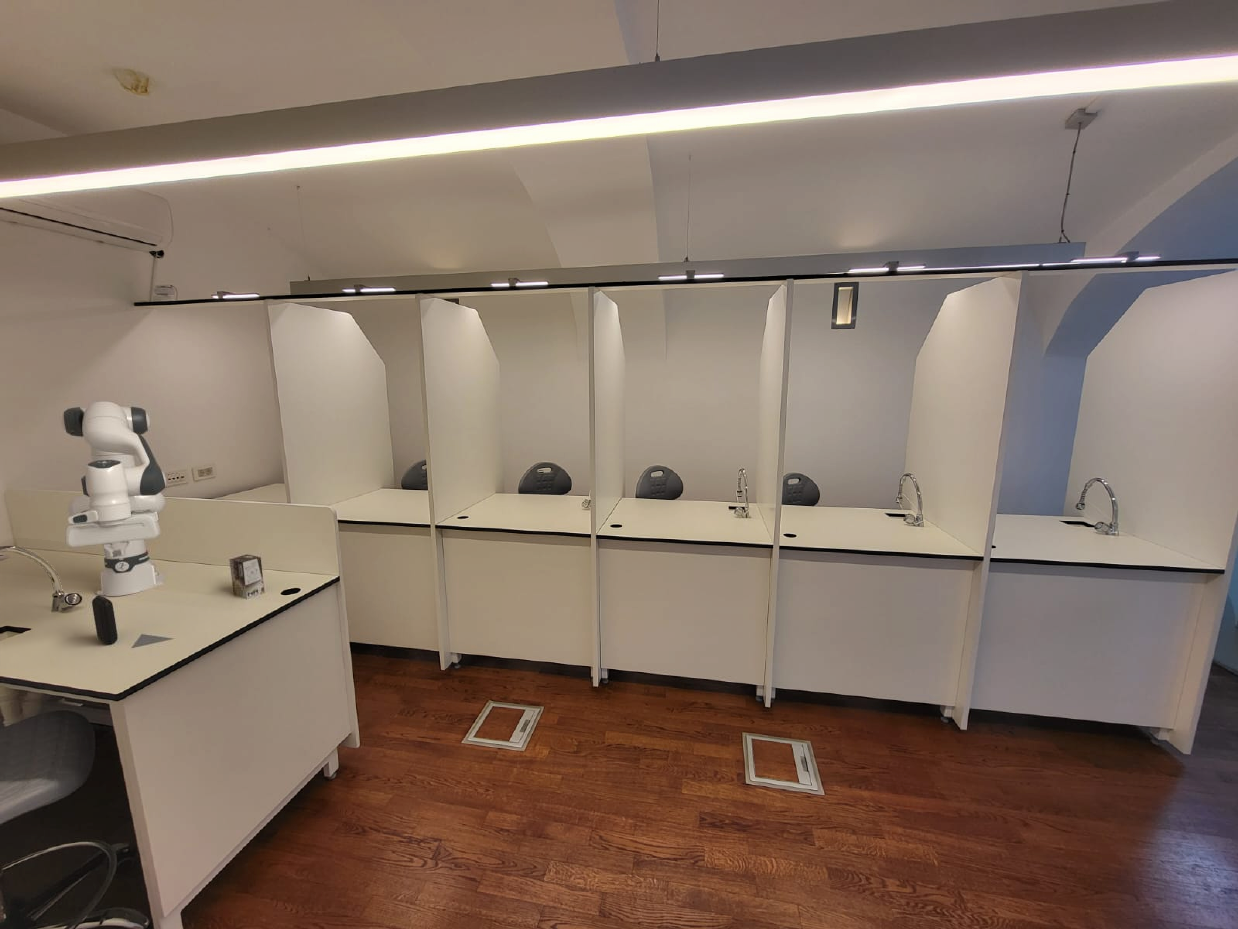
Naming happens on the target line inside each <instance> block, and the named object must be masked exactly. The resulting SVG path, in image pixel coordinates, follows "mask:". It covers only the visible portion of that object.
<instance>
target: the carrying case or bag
mask: <svg viewBox="0 0 1238 929" xmlns="http://www.w3.org/2000/svg"><path fill="white" fill-rule="evenodd" d="M91 605H92V606H91V607H92V611H93V613H92V614H93V618H94V625H95V630H96V635H97V638H98V639H99V641H101V642H102V643H103V644H105V645H114V644H115V643H116V642H117V641H118V637H119V636H118V630H117V629H118V628H117V624H116V623H117V622H116V616H115V610H114V605H113V601H111V600H110V599H109V598H107V597H105V596H104V595H96V596H95V598H93V599H92V601H91Z"/></svg>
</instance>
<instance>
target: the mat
mask: <svg viewBox="0 0 1238 929" xmlns="http://www.w3.org/2000/svg"><path fill="white" fill-rule="evenodd" d="M171 640H175V638H172V637H165V636H157V635H152V634H150V635H149V634H143V633H141V634H140V636H139V637H138V638H137V640H136V641H135V643H134V644H133V645H132V646H131V648H132V649H134V648H138V647H139V648H140V647H143V646H148V645H152V644H156V643H161V642H165V641H171Z"/></svg>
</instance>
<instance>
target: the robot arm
mask: <svg viewBox="0 0 1238 929" xmlns="http://www.w3.org/2000/svg"><path fill="white" fill-rule="evenodd" d="M60 423H61V427H62V428H63V429H64V430H65V431H66V434H68V435H69V436H71V437H72V436H74V437H81V438H83V439H84V441H85V442H86V444H88V445H89V446H90V455H91V456H90V457H91V462H89V463H87V464H86V466H85V467H86V468H85V475H84V476H82V477H81V479H80V482H81V486H82V494H83V495H80V496H76V497H74V498H73V499H71V501H70V502H69V504H68V506H67V514H68V515H69V516H68V518H67V523H68V524H69V525H68V526H66V528H65V542H66V543H65V544H66V546H68V547H69V548H79V547H87V546H88V547H89V546H96V545H97V546H98V545H102V547H103V551H104V552H103V553H104V558H103V565H104V567H105V569H103V570H102V571H101V572H100V582H101V583H100V585H101V589H99V590H97V591H96V596H107V597H119V596H126V595H132V594H136V593H140V592H144V591H146V590H150V589H153V588H155V587H158V586H161V585H164V584H165V572H157V566H156V564H155V562H153V561H152V560H151V559H150V554H149V549H148V548H147V547H146V540H152V539H156V538H157V537H159V536H160V535H161V532H162V531H161V527H160V525H159V520H160V517H159V514H161V513H162V512H163V510H164V509H165V507H166V504H167V503H166V498H165V496H164V495H163V494H162V491H164V490H165V489H166V486H167V478H166V474H165V473H164V471H163V470H162V469H161V467H160V465H159V464H158V461H157V460H156V458H155V456H154V454H153V452H152V449H151V448H150V446H149V444H148V442H147V440H146V439H145V437H144V436H143V435H144V434H145V433H147V432H148V431H149V430H148V429H149V428H150V426H151V417H150V416H149V414H148V412H147V411H146V409H144V408H141V407H136V406H131V407H127V406H121V405H119V404H117V403H115V402H112V401H106V400H105V401H103V400H101V401H96V402H93V403H90V405H88V406H85V407H80V406H77V407H70V408H67V409H66V410H64V411H63V414H62V415H61V418H60ZM135 458H136V459H137V462H138V464H139V465H138V466H136V462H135ZM163 583H164V584H163ZM157 585H158V586H157ZM154 586H155V587H154Z"/></svg>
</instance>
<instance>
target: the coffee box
mask: <svg viewBox="0 0 1238 929" xmlns="http://www.w3.org/2000/svg"><path fill="white" fill-rule="evenodd" d="M262 566H263V565H262V557H260V556H256V555H253V554H248V553H247V554H243V555H240V556H237V557H233V558H229V567H230V568H229V569H230V575H231V576H230V577H231V584H232V589H233V595H234V596H235V597H238V598H241V599H245V600H249V599H253V598H254V597H257V596H261V595H263V594H265V586H264V585H265V584H264V576H263V575H264V574H263V567H262Z"/></svg>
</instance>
